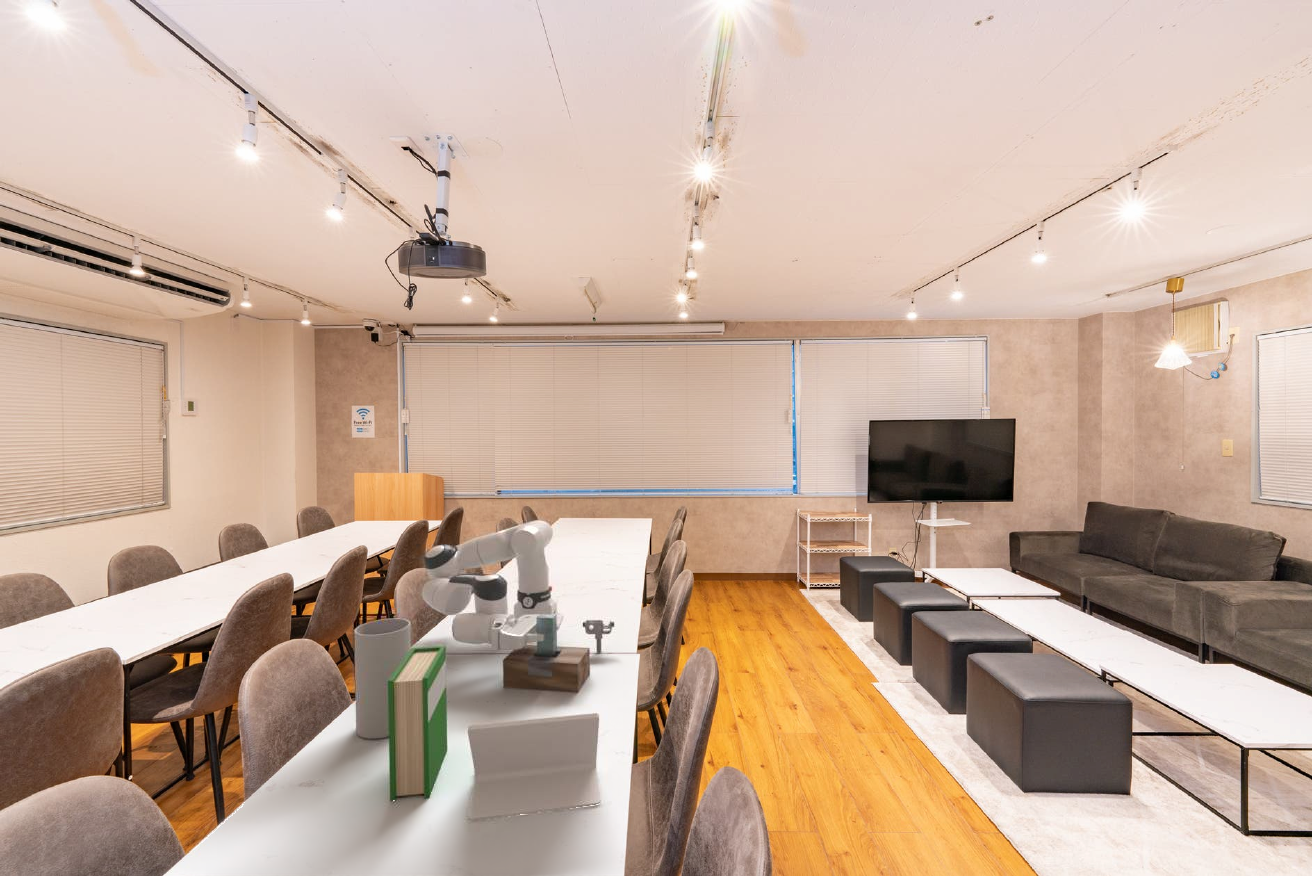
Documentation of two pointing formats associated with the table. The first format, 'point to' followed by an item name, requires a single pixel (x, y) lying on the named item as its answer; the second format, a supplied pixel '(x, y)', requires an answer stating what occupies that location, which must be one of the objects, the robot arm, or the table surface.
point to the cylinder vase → (377, 671)
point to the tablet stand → (534, 766)
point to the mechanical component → (597, 630)
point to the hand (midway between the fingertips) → (549, 631)
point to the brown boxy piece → (547, 669)
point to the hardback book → (417, 721)
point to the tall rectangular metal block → (547, 635)
